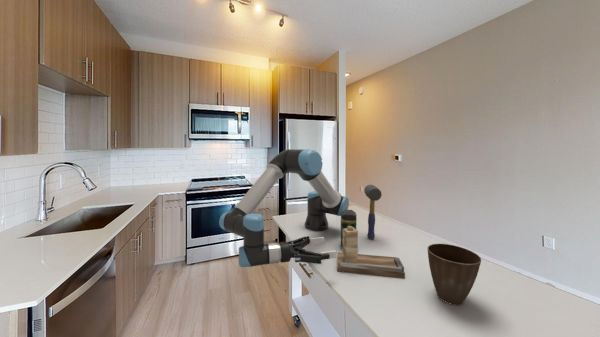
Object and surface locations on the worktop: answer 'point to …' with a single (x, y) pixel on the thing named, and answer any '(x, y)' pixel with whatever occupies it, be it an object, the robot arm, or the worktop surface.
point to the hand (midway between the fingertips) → (329, 246)
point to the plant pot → (453, 271)
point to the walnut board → (373, 265)
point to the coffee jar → (347, 221)
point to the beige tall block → (350, 245)
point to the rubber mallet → (372, 207)
